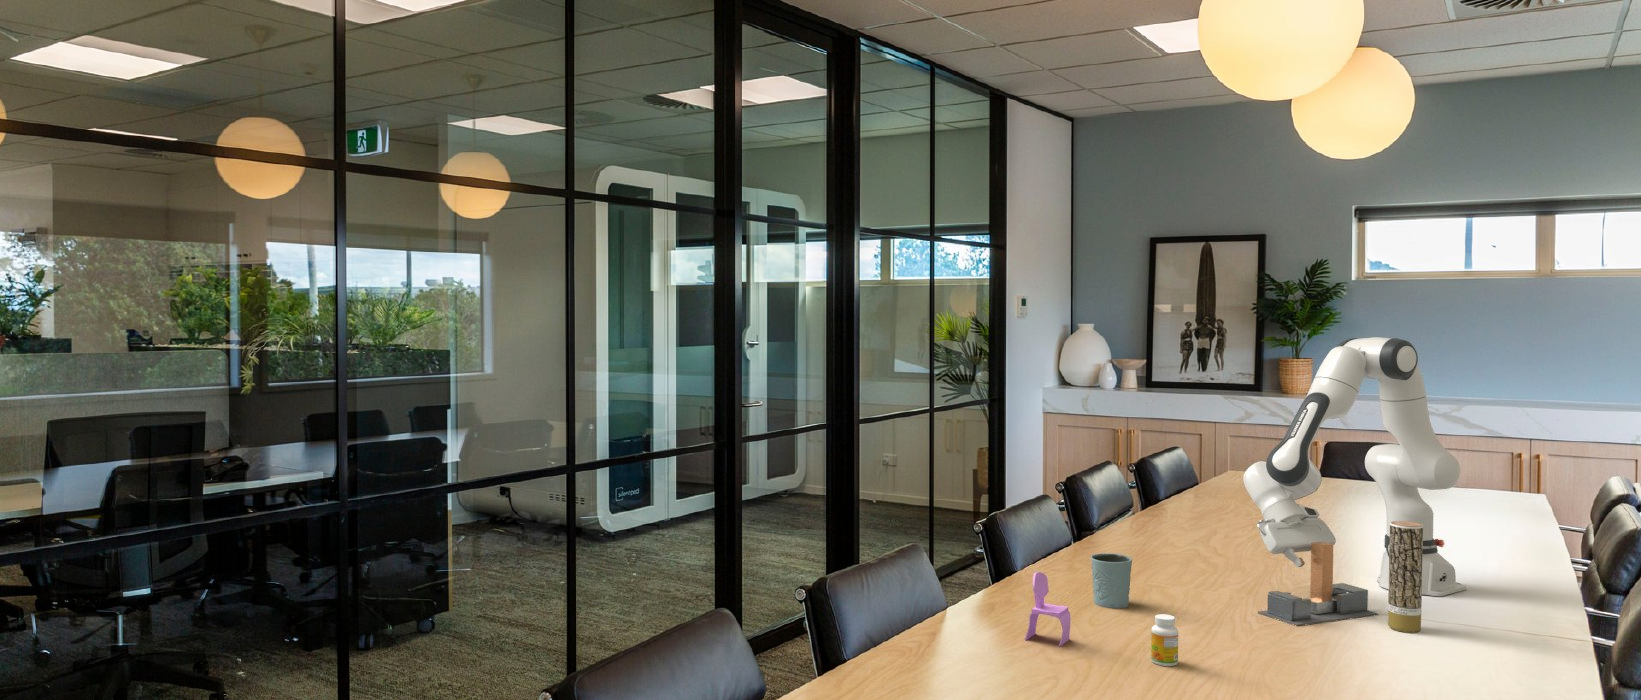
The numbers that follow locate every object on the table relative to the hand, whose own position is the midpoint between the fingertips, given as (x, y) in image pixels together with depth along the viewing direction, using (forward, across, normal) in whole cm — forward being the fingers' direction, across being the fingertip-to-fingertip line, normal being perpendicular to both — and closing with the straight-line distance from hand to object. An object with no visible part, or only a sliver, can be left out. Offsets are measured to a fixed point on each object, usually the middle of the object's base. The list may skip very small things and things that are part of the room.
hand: (1315, 564), depth 256 cm
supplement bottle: (+22, -62, -4) cm, 66 cm away
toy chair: (+6, -76, +12) cm, 77 cm away
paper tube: (+22, +8, -5) cm, 24 cm away
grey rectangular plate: (+10, -1, +7) cm, 12 cm away
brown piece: (+9, +4, +7) cm, 12 cm away
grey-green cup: (-8, -43, +26) cm, 51 cm away
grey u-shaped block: (+10, +7, +7) cm, 14 cm away
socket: (+10, -10, +7) cm, 16 cm away
